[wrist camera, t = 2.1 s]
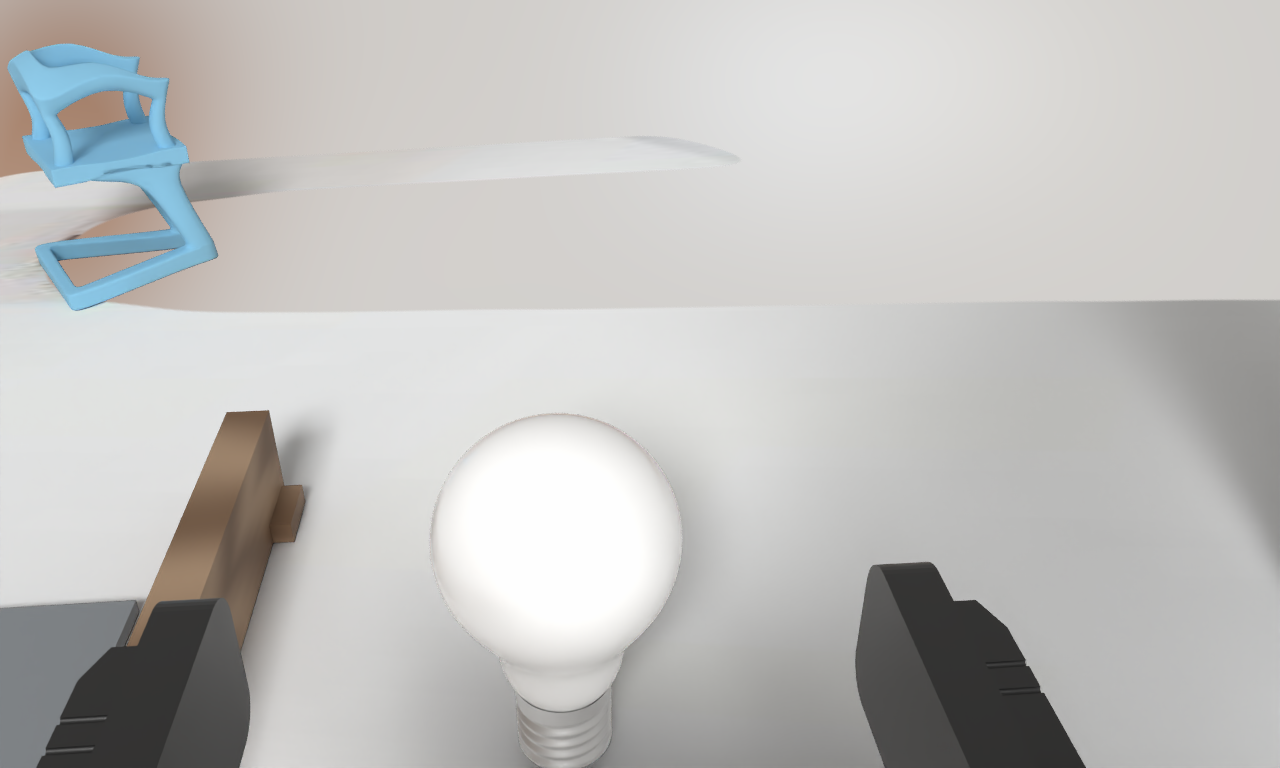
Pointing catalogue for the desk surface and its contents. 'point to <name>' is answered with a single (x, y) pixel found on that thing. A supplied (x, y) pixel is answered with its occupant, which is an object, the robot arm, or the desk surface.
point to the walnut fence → (229, 523)
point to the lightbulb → (557, 568)
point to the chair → (109, 164)
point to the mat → (49, 667)
